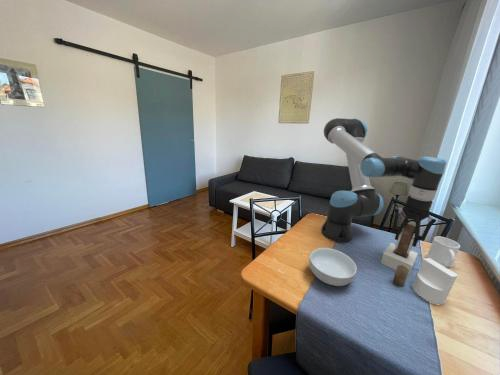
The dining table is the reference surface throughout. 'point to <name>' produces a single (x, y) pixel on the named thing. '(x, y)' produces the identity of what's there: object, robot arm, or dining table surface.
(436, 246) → the mug
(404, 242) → the long dowel
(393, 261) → the hole block
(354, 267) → the cereal bowl
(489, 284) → the dining table surface
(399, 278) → the short dowel
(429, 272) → the base with upright slab
